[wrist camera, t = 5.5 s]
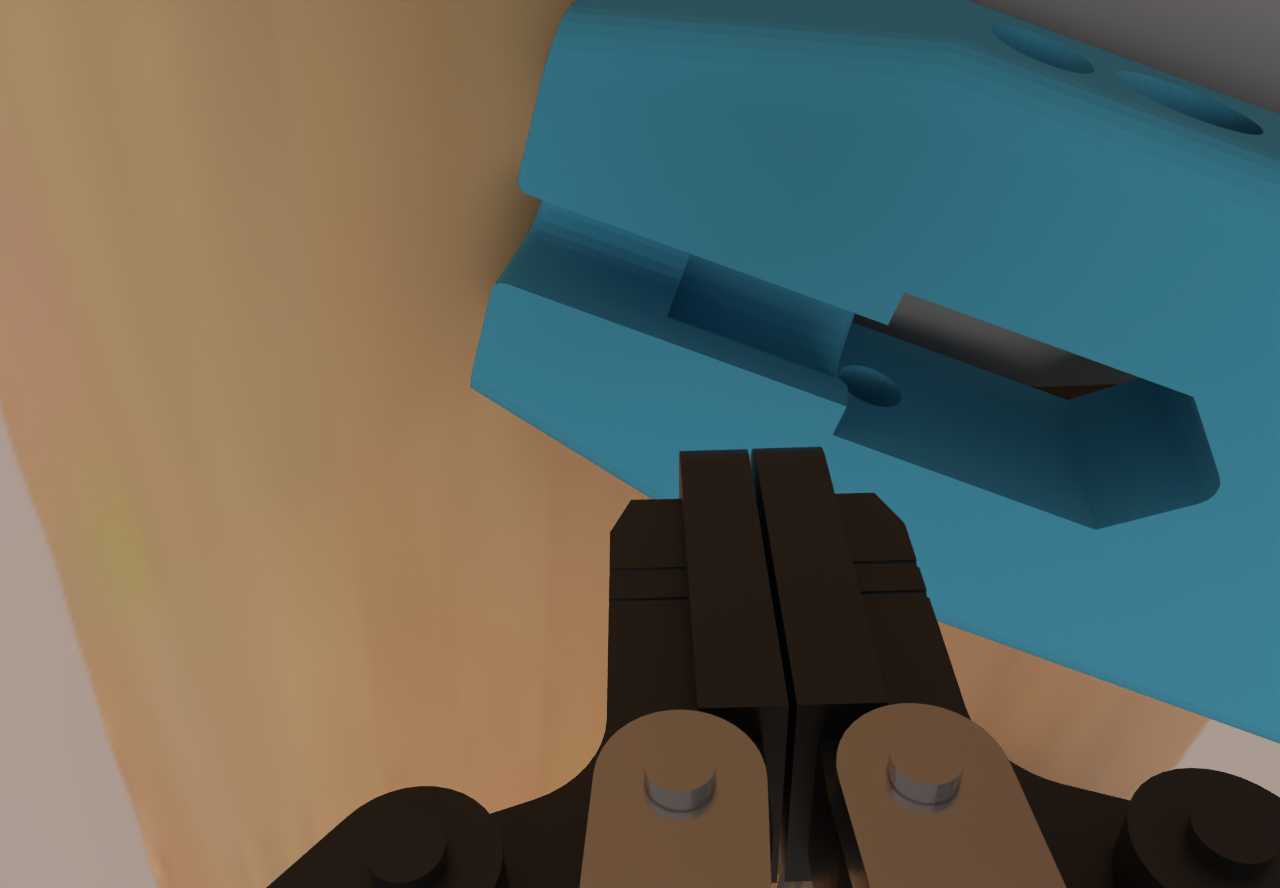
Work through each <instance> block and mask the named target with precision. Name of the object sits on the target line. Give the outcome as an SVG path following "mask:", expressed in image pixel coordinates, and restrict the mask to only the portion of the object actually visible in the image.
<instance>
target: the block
mask: <svg viewBox="0 0 1280 888" xmlns="http://www.w3.org/2000/svg"><path fill="white" fill-rule="evenodd" d="M518 185H519V187H520V189H521V190H522V191H523V192H524V193H526V194H527V195H530V196H532V197H535V198H538V199H541V203H540V206H539V209H538V211H537V214H536V216H535V219H534V221H533V224H532V226H531V228H530V230H529V232H528V234H527V236H526V238H525V240H524V241H523V243H522V244H521V246H520V247H519V249H518V250H517V252H516V253H515V255H514V256H513V258H512V259H511V261H510V262H509V264H508V265H507V267H506V268H505V270H504V271H503V273H502V274H501V276H500V278H499V279H498V281H497V282H496V284H495V285H494V287H493V288H492V290H491V294H490V299H489V303H488V307H487V311H486V315H485V320H484V324H483V328H482V332H481V336H480V341H479V345H478V349H477V353H476V357H475V362H474V366H473V370H472V375H471V383H470V384H471V388H472V389H474V390H475V391H477V392H479V393H480V394H482V395H484V396H485V397H487V398H488V399H490V400H492V401H493V402H495V403H497V404H498V405H500V406H501V407H503V408H505V409H506V410H508V411H510V412H511V413H513V414H514V415H516V416H518V417H519V418H521V419H523V420H524V421H526V422H527V423H529V424H531V425H532V426H534V427H536V428H537V429H539V430H540V431H542V432H544V433H545V434H547V435H549V436H550V437H552V438H554V439H555V440H557V441H558V442H560V443H562V444H563V445H565V446H567V447H568V448H570V449H571V450H573V451H575V452H576V453H578V454H580V455H581V456H583V457H584V458H586V459H588V460H589V461H591V462H593V463H594V464H596V465H597V466H599V467H601V468H602V469H604V470H606V471H607V472H609V473H610V474H612V475H614V476H615V477H617V478H619V479H620V480H622V481H623V482H625V483H627V484H628V485H630V486H632V487H633V488H635V489H636V490H638V491H640V492H641V493H643V494H645V495H646V496H648V497H649V498H651V499H679V451H697V450H731V449H747V450H748V453H749V458H751V451H752V449H755V448H788V447H822V448H823V450H824V453H825V457H826V461H827V465H828V469H829V472H830V476H831V480H832V484H833V488H834V492H835V494H841V493H875V494H876V495H877V496H878V497H879V498H880V499H881V500H882V501H883V502H884V503H885V504H886V505H887V506H888V507H889V508H890V509H891V510H892V511H893V512H894V513H895V514H896V515H897V516H898V517H899V518H900V519H901V520H902V521H903V522H904V523H905V526H906V529H907V532H908V535H909V538H910V541H911V544H912V547H913V550H914V553H915V556H916V559H917V567H919V568H920V571H921V574H922V577H923V580H924V583H925V586H926V589H927V591H926V593H927V597H929V598H930V601H931V604H932V607H933V610H934V613H935V616H936V619H937V621H940V622H942V623H945V624H948V625H951V626H953V627H956V628H959V629H962V630H965V631H967V632H970V633H973V634H976V635H979V636H981V637H984V638H987V639H990V640H993V641H995V642H998V643H1001V644H1004V645H1006V646H1009V647H1012V648H1015V649H1018V650H1020V651H1023V652H1026V653H1029V654H1032V655H1034V656H1037V657H1040V658H1043V659H1045V660H1048V661H1051V662H1054V663H1057V664H1059V665H1062V666H1065V667H1068V668H1071V669H1073V670H1076V671H1079V672H1082V673H1085V674H1087V675H1090V676H1093V677H1096V678H1098V679H1101V680H1104V681H1107V682H1110V683H1112V684H1115V685H1118V686H1121V687H1124V688H1126V689H1129V690H1132V691H1135V692H1137V693H1140V694H1143V695H1146V696H1149V697H1151V698H1154V699H1157V700H1160V701H1163V702H1165V703H1168V704H1171V705H1174V706H1176V707H1179V708H1182V709H1185V710H1188V711H1190V712H1193V713H1196V714H1199V715H1202V716H1204V717H1207V718H1210V719H1213V720H1216V721H1218V722H1221V723H1224V724H1227V725H1229V726H1232V727H1235V728H1238V729H1241V730H1244V731H1246V732H1249V733H1252V734H1255V735H1257V736H1260V737H1263V738H1266V739H1269V740H1271V741H1274V742H1277V743H1280V114H1277V113H1274V112H1271V111H1269V110H1266V109H1263V108H1261V107H1258V106H1255V105H1252V104H1250V103H1247V102H1244V101H1241V100H1239V99H1236V98H1233V97H1231V96H1228V95H1225V94H1222V93H1220V92H1217V91H1214V90H1211V89H1209V88H1206V87H1203V86H1200V85H1198V84H1195V83H1192V82H1190V81H1187V80H1184V79H1181V78H1179V77H1176V76H1173V75H1170V74H1168V73H1165V72H1162V71H1159V70H1157V69H1154V68H1151V67H1149V66H1146V65H1143V64H1140V63H1138V62H1135V61H1132V60H1129V59H1127V58H1124V57H1121V56H1118V55H1116V54H1113V53H1110V52H1108V51H1105V50H1102V49H1099V48H1097V47H1094V46H1091V45H1088V44H1086V43H1083V42H1080V41H1078V40H1075V39H1072V38H1069V37H1067V36H1064V35H1061V34H1058V33H1056V32H1053V31H1050V30H1047V29H1045V28H1042V27H1039V26H1037V25H1034V24H1031V23H1028V22H1026V21H1023V20H1020V19H1017V18H1015V17H1012V16H1009V15H1006V14H1004V13H1001V12H998V11H996V10H993V9H990V8H987V7H985V6H982V5H979V4H976V3H974V2H971V1H968V0H576V1H575V2H574V3H573V4H572V5H571V6H570V7H569V8H568V10H567V11H566V13H565V15H564V16H563V18H562V20H561V22H560V25H559V27H558V30H557V32H556V34H555V37H554V40H553V43H552V45H551V48H550V51H549V55H548V58H547V61H546V65H545V68H544V72H543V76H542V80H541V84H540V88H539V93H538V97H537V101H536V105H535V109H534V114H533V118H532V122H531V126H530V130H529V135H528V139H527V143H526V147H525V151H524V156H523V160H522V164H521V168H520V172H519V177H518ZM904 292H905V293H908V294H911V295H914V296H916V297H919V298H922V299H925V300H928V301H930V302H933V303H936V304H939V305H941V306H944V307H947V308H950V309H952V310H955V311H958V312H961V313H963V314H966V315H969V316H972V317H974V318H977V319H980V320H983V321H985V322H988V323H991V324H994V325H997V326H999V327H1002V328H1005V329H1008V330H1010V331H1013V332H1016V333H1019V334H1021V335H1024V336H1027V337H1030V338H1032V339H1035V340H1038V341H1041V342H1043V343H1046V344H1049V345H1052V346H1054V347H1057V348H1060V349H1063V350H1065V351H1068V352H1071V353H1074V354H1077V355H1079V356H1082V357H1085V358H1088V359H1090V360H1093V361H1096V362H1099V363H1101V364H1104V365H1107V366H1110V367H1112V368H1115V369H1118V370H1121V371H1123V372H1126V373H1129V374H1132V375H1134V376H1137V377H1140V378H1139V379H1135V380H1132V381H1129V382H1126V383H1122V384H1119V385H1116V386H1112V387H1109V388H1106V389H1102V390H1099V391H1096V392H1093V393H1089V394H1086V395H1083V396H1079V397H1076V398H1073V399H1069V400H1066V399H1063V398H1060V397H1057V396H1055V395H1052V394H1049V393H1046V392H1044V391H1041V390H1038V389H1035V388H1033V387H1030V386H1027V385H1024V384H1022V383H1019V382H1016V381H1013V380H1011V379H1008V378H1005V377H1002V376H999V375H997V374H994V373H991V372H988V371H986V370H983V369H980V368H977V367H975V366H972V365H969V364H966V363H964V362H961V361H958V360H955V359H952V358H950V357H947V356H944V355H941V354H939V353H936V352H933V351H930V350H928V349H925V348H922V347H919V346H917V345H914V344H911V343H908V342H905V341H903V340H900V339H897V338H894V337H892V336H889V335H886V334H883V333H881V332H878V331H875V330H872V329H870V328H867V327H864V326H861V325H858V324H856V323H853V322H852V320H853V318H854V315H855V313H856V314H858V315H861V316H864V317H867V318H869V319H872V320H875V321H878V322H881V323H883V324H886V325H888V324H889V322H890V320H891V318H892V316H893V314H894V312H895V310H896V308H897V306H898V304H899V302H900V300H901V298H902V296H903V294H904Z"/></svg>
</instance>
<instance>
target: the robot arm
mask: <svg viewBox="0 0 1280 888" xmlns="http://www.w3.org/2000/svg"><path fill="white" fill-rule="evenodd" d="M926 591H927V589H926V586H925V583H924V580H923V577H922V574H921V571H920V568H919V567H917V559H916V556H915V553H914V550H913V547H912V544H911V541H910V538H909V535H908V532H907V529H906V526H905V523H904V522H903V521H902V520H901V519H900V518H899V517H898V516H897V515H896V514H895V513H894V512H893V511H892V510H891V509H890V508H889V507H888V506H887V505H886V504H885V503H884V502H883V501H882V500H881V499H880V498H879V497H878V496H877V495H876V494H875V493H841V494H835V492H834V488H833V484H832V480H831V476H830V472H829V469H828V465H827V461H826V457H825V453H824V450H823V448H822V447H788V448H755V449H752V451H751V458H749V453H748V450H747V449H731V450H697V451H679V499H649V500H631V501H630V502H629V504H628V505H627V507H626V509H625V510H624V512H623V513H622V515H621V516H620V518H619V519H618V521H617V523H616V524H615V526H614V527H613V529H612V530H611V532H610V577H609V632H608V688H607V723H606V731H605V734H604V737H603V740H602V743H601V745H600V747H599V749H598V751H597V753H596V755H595V756H594V757H593V759H592V760H591V761H590V763H589V764H588V765H587V767H586V768H585V769H583V770H582V771H581V772H580V773H579V774H578V775H577V776H576V777H575V778H574V779H572V780H571V781H570V782H568V783H567V784H565V785H564V786H562V787H561V788H559V789H557V790H555V791H553V792H551V793H550V794H547V795H545V796H542V797H540V798H537V799H535V800H532V801H528V802H525V803H522V804H519V805H516V806H513V807H510V808H507V809H504V810H501V811H497V812H494V813H491V814H489V813H488V812H487V810H486V809H485V808H484V807H483V806H481V805H480V804H479V803H478V802H477V801H475V800H474V799H472V798H470V797H469V796H467V795H465V794H463V793H460V792H457V791H454V790H451V789H447V788H441V787H435V786H418V787H410V788H404V789H400V790H396V791H392V792H389V793H387V794H384V795H382V796H379V797H377V798H375V799H373V800H371V801H369V802H368V803H366V804H364V805H362V806H361V807H359V808H358V809H357V810H355V811H354V812H353V813H352V814H350V815H349V816H348V817H347V818H345V819H344V820H343V821H342V822H341V823H340V824H339V825H337V826H336V827H335V828H334V829H333V830H332V831H331V832H329V833H328V834H327V835H326V836H325V837H324V838H323V839H321V840H320V841H319V842H318V843H317V844H316V845H315V846H313V847H312V848H311V849H310V850H309V851H308V852H307V853H305V854H304V855H303V856H302V857H301V858H300V859H299V860H297V861H296V862H295V863H294V864H293V865H292V866H291V867H289V868H288V869H287V870H286V871H285V872H284V873H283V874H281V875H280V876H279V877H278V878H277V879H276V880H275V881H274V882H272V883H271V884H270V885H269V886H268V887H267V888H771V883H777V874H778V859H779V846H780V854H781V861H782V869H783V877H784V882H799V881H812V883H813V888H1280V798H1279V797H1278V796H1276V795H1275V794H1273V793H1271V792H1270V791H1268V790H1266V789H1264V788H1263V787H1261V786H1259V785H1257V784H1255V783H1252V782H1250V781H1248V780H1246V779H1243V778H1241V777H1238V776H1234V775H1231V774H1228V773H1225V772H1220V771H1215V770H1210V769H1199V768H1198V769H1197V768H1185V769H1175V770H1170V771H1166V772H1162V773H1160V774H1158V775H1156V776H1153V777H1151V778H1150V779H1148V780H1147V781H1146V782H1144V783H1143V784H1142V785H1141V786H1140V787H1139V788H1138V789H1137V791H1136V792H1135V793H1134V795H1133V797H1132V799H1131V801H1130V800H1126V799H1121V798H1117V797H1113V796H1109V795H1105V794H1101V793H1097V792H1092V791H1088V790H1084V789H1080V788H1076V787H1072V786H1068V785H1064V784H1060V783H1057V782H1054V781H1050V780H1047V779H1044V778H1042V777H1040V776H1037V775H1035V774H1032V773H1030V772H1028V771H1026V770H1025V769H1023V768H1021V767H1019V766H1017V765H1015V764H1014V763H1012V762H1011V761H1010V760H1008V758H1007V756H1006V754H1005V752H1004V751H1003V749H1002V748H1001V747H1000V745H999V744H998V743H997V742H996V740H995V739H994V738H993V737H992V736H991V735H990V734H988V733H987V732H986V731H985V730H984V729H983V728H981V727H980V726H979V725H977V724H976V723H974V722H973V721H971V719H970V717H969V714H968V712H967V710H966V707H965V704H964V701H963V698H962V695H961V692H960V689H959V686H958V683H957V680H956V677H955V674H954V671H953V668H952V665H951V662H950V659H949V656H948V653H947V650H946V647H945V644H944V641H943V637H942V634H941V631H940V628H939V625H938V622H937V619H936V616H935V613H934V610H933V607H932V604H931V601H930V598H929V597H927V593H926Z"/></svg>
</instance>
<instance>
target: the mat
mask: <svg viewBox="0 0 1280 888" xmlns="http://www.w3.org/2000/svg"><path fill="white" fill-rule="evenodd" d="M968 1H971V2H974V3H976V4H979V5H982V6H985V7H987V8H990V9H993V10H996V11H998V12H1001V13H1004V14H1006V15H1009V16H1012V17H1015V18H1017V19H1020V20H1023V21H1026V22H1028V23H1031V24H1034V25H1037V26H1039V27H1042V28H1045V29H1047V30H1050V31H1053V32H1056V33H1058V34H1061V35H1064V36H1067V37H1069V38H1072V39H1075V40H1078V41H1080V42H1083V43H1086V44H1088V45H1091V46H1094V47H1097V48H1099V49H1102V50H1105V51H1108V52H1110V53H1113V54H1116V55H1118V56H1121V57H1124V58H1127V59H1129V60H1132V61H1135V62H1138V63H1140V64H1143V65H1146V66H1149V67H1151V68H1154V69H1157V70H1159V71H1162V72H1165V73H1168V74H1170V75H1173V76H1176V77H1179V78H1181V79H1184V80H1187V81H1190V82H1192V83H1195V84H1198V85H1200V86H1203V87H1206V88H1209V89H1211V90H1214V91H1217V92H1220V93H1222V94H1225V95H1228V96H1231V97H1233V98H1236V99H1239V100H1241V101H1244V102H1247V103H1250V104H1252V105H1255V106H1258V107H1261V108H1263V109H1266V110H1269V111H1271V112H1274V113H1277V114H1280V0H968ZM852 322H853V323H856V324H858V325H861V326H864V327H867V328H870V329H872V330H875V331H878V332H881V333H883V334H886V335H889V336H892V337H894V338H897V339H900V340H903V341H905V342H908V343H911V344H914V345H917V346H919V347H922V348H925V349H928V350H930V351H933V352H936V353H939V354H941V355H944V356H947V357H950V358H952V359H955V360H958V361H961V362H964V363H966V364H969V365H972V366H975V367H977V368H980V369H983V370H986V371H988V372H991V373H994V374H997V375H999V376H1002V377H1005V378H1008V379H1011V380H1013V381H1016V382H1019V383H1022V384H1024V385H1027V386H1030V387H1057V386H1084V385H1112V384H1122V383H1126V382H1129V381H1132V380H1135V379H1139V378H1140V377H1137V376H1134V375H1132V374H1129V373H1126V372H1123V371H1121V370H1118V369H1115V368H1112V367H1110V366H1107V365H1104V364H1101V363H1099V362H1096V361H1093V360H1090V359H1088V358H1085V357H1082V356H1079V355H1077V354H1074V353H1071V352H1068V351H1065V350H1063V349H1060V348H1057V347H1054V346H1052V345H1049V344H1046V343H1043V342H1041V341H1038V340H1035V339H1032V338H1030V337H1027V336H1024V335H1021V334H1019V333H1016V332H1013V331H1010V330H1008V329H1005V328H1002V327H999V326H997V325H994V324H991V323H988V322H985V321H983V320H980V319H977V318H974V317H972V316H969V315H966V314H963V313H961V312H958V311H955V310H952V309H950V308H947V307H944V306H941V305H939V304H936V303H933V302H930V301H928V300H925V299H922V298H919V297H916V296H914V295H911V294H908V293H905V292H904V294H903V296H902V298H901V300H900V302H899V304H898V306H897V308H896V310H895V312H894V314H893V316H892V318H891V320H890V322H889V324H888V325H886V324H883V323H881V322H878V321H875V320H872V319H869V318H867V317H864V316H861V315H858V314H856V313H855V315H854V318H853V320H852Z"/></svg>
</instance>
